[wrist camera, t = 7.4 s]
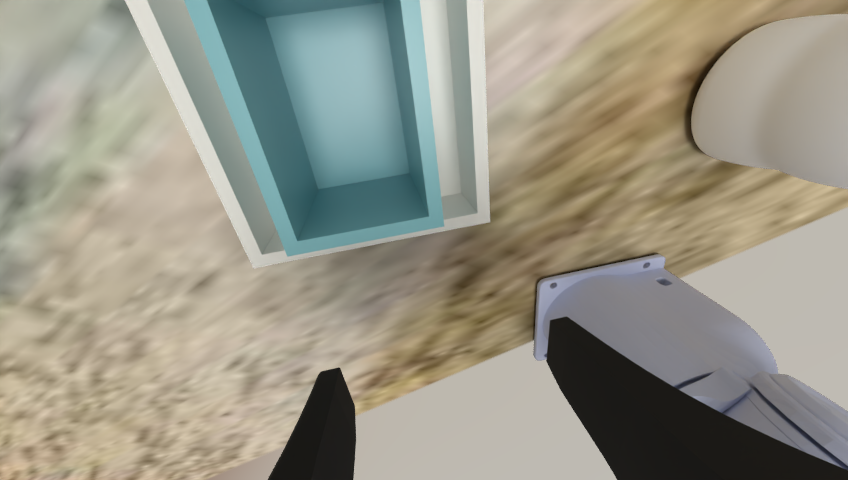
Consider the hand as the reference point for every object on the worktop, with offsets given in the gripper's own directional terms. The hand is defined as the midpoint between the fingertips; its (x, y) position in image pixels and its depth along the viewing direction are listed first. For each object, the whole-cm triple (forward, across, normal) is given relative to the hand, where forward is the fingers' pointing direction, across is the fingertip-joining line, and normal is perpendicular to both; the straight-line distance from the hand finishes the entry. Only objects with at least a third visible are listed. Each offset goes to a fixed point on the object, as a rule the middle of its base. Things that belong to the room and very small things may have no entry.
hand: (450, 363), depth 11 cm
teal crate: (+9, +2, -8) cm, 12 cm away
